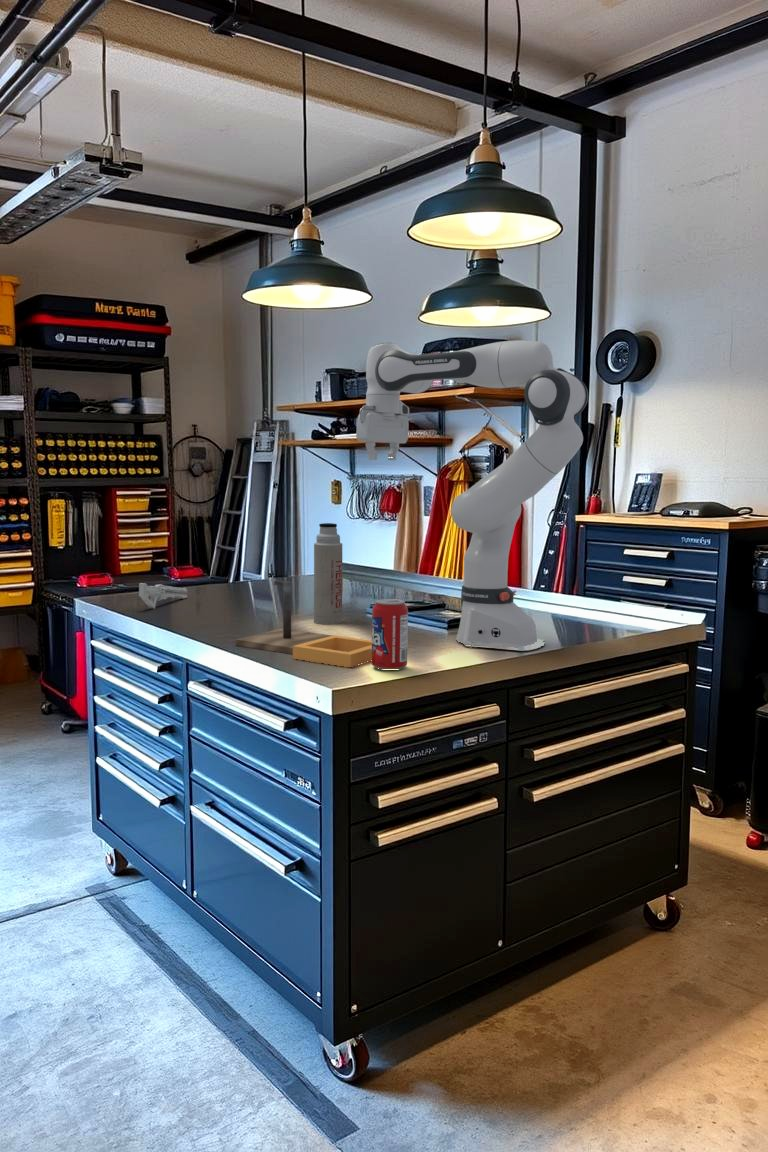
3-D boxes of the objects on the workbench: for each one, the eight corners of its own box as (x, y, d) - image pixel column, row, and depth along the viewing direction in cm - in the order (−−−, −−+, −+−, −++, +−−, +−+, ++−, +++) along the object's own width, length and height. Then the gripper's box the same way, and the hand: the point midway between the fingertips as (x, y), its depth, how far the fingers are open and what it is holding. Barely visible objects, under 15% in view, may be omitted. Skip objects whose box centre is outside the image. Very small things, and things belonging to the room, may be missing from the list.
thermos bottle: (347, 622, 251) (348, 523, 248) (324, 625, 246) (325, 524, 243) (331, 618, 257) (331, 522, 254) (308, 621, 252) (308, 523, 249)
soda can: (408, 672, 192) (409, 603, 190) (372, 672, 191) (372, 603, 189) (405, 664, 199) (406, 598, 198) (370, 664, 199) (371, 598, 197)
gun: (137, 608, 264) (139, 582, 265) (181, 610, 294) (183, 587, 294) (143, 608, 264) (144, 582, 264) (187, 610, 293) (188, 587, 294)
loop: (388, 655, 208) (389, 642, 208) (350, 668, 195) (350, 654, 194) (333, 647, 217) (333, 635, 216) (292, 658, 203) (292, 646, 203)
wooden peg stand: (337, 641, 223) (337, 581, 221) (293, 654, 208) (293, 589, 206) (281, 634, 233) (281, 575, 231) (235, 645, 218) (234, 582, 216)
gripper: (371, 404, 222) (370, 459, 224) (412, 408, 240) (412, 460, 241) (350, 405, 226) (350, 459, 227) (393, 409, 243) (392, 460, 245)
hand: (382, 460), depth 234 cm, fingers open, 8 cm apart
